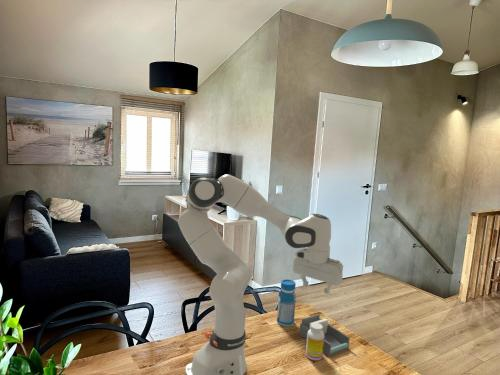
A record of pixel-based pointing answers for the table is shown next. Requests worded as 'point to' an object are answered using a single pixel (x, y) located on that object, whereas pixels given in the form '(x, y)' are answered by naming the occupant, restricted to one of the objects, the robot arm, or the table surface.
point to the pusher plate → (323, 322)
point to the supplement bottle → (315, 342)
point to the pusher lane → (327, 336)
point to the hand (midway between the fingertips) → (316, 289)
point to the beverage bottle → (286, 303)
